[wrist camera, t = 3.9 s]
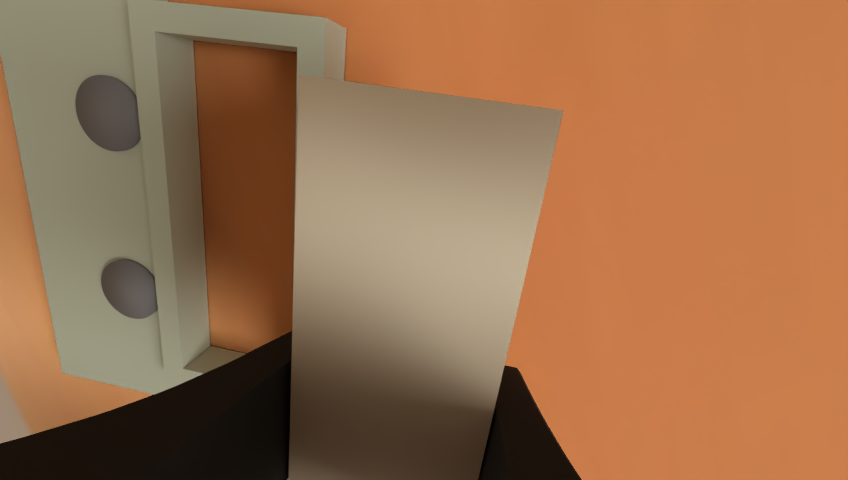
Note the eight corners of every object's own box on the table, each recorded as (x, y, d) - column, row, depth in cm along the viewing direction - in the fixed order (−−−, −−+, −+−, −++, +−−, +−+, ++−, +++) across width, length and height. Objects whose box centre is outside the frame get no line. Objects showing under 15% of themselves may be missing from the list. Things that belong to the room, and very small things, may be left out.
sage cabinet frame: (326, 415, 21) (310, 445, 19) (83, 360, 23) (46, 382, 21) (349, -24, 15) (328, -43, 13) (12, -53, 17) (-49, -74, 15)
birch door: (457, 456, 15) (433, 674, 9) (363, 434, 15) (284, 628, 9) (527, 108, 11) (563, 110, 5) (398, 90, 11) (299, 74, 5)
